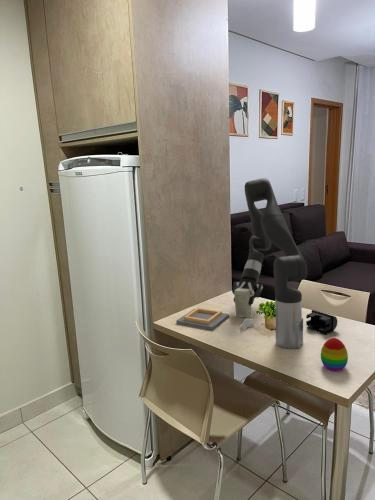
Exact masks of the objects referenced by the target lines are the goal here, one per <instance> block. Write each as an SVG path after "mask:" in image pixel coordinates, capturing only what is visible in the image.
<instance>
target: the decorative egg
mask: <svg viewBox="0 0 375 500" xmlns="http://www.w3.org/2000/svg"><path fill="white" fill-rule="evenodd" d="M320 360H321V363H322V365H323V366H324V368H325V369H326V370H328V371H331V372H341V371H343V370H344V369H345V368H346V366H347V364H348V361H349V354H348V349H347V347H346V345H345V343H344V342H343V341H341V340H340V339H339V338H336V337H331V338H329V339H327V340H326V341H325V342H324V344H323V345H322V347H321V351H320Z"/></svg>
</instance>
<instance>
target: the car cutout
mask: <svg viewBox="0 0 375 500" xmlns="http://www.w3.org/2000/svg"><path fill="white" fill-rule="evenodd" d="M250 327H253V328H254V327H255V324H254V321H253V319H251V318H250V317H249V318H245V319H244V320H243V322H241V325H240V328H241V329H242V330H244V331H246V330H247V328H250Z"/></svg>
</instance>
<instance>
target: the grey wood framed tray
mask: <svg viewBox="0 0 375 500" xmlns="http://www.w3.org/2000/svg"><path fill="white" fill-rule="evenodd" d="M229 318H230V313H223V312H222V311H221V310H216V309H210V308H209V309H208V308H203V307H202V308H201V307H196V308H193V309H191V310H190V311H188V312H187V313H186V314H184V315H183V316H181V317H180V318H178V319H177V320H176V321H175V322H176V325H180V326H186V327H192V328H197V329H203V330H207V331H208V330H210V331H215V330H216V329H217V328H218V327H220V326H221V325H222V324H223V323H225V322H226V321H227V320H228V319H229Z"/></svg>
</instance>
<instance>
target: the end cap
mask: <svg viewBox="0 0 375 500" xmlns="http://www.w3.org/2000/svg"><path fill="white" fill-rule="evenodd" d="M305 318H306V319H308V320H306V322H305V323H306V324H305V325H306V329H307V330H310V331H314V332H315V333H316V332H317V333H319V334H322V335H325V336H327V335H329V334H331V333H333V332H334V331H335V330H336V328H337V326H338V318H337V317H336V315H333V314H329V313H326V312H322V311H319V310H317V309H312V310H311V312H310V313H307V314H306V316H305ZM309 318H310V319H309Z"/></svg>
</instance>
